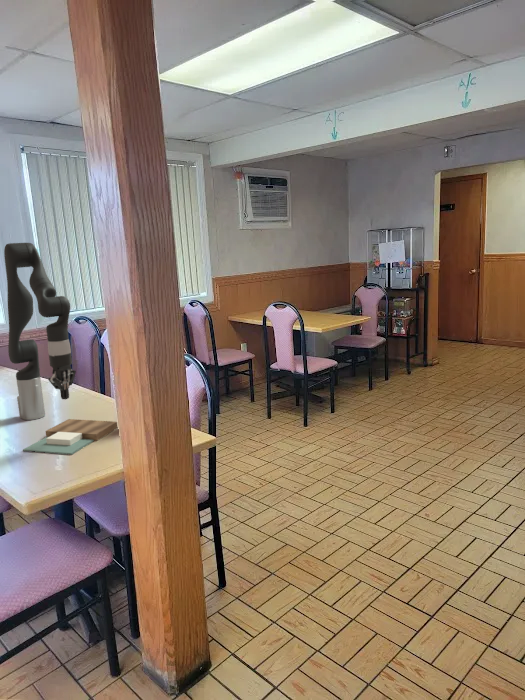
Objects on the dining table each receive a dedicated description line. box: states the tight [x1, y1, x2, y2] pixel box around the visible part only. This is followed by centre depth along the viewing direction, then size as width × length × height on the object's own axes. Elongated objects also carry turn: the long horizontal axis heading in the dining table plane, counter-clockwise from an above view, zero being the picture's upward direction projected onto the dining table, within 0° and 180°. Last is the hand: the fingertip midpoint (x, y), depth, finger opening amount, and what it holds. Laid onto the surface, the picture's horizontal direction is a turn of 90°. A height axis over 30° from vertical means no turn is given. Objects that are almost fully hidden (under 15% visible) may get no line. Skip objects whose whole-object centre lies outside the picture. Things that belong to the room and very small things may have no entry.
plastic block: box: [45, 432, 82, 445], centre depth 188 cm, size 10×7×2 cm
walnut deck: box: [45, 418, 119, 442], centre depth 198 cm, size 22×14×2 cm, turn 74°
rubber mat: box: [22, 436, 95, 456], centre depth 185 cm, size 20×13×1 cm, turn 74°
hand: (65, 398), depth 189 cm, fingers closed
